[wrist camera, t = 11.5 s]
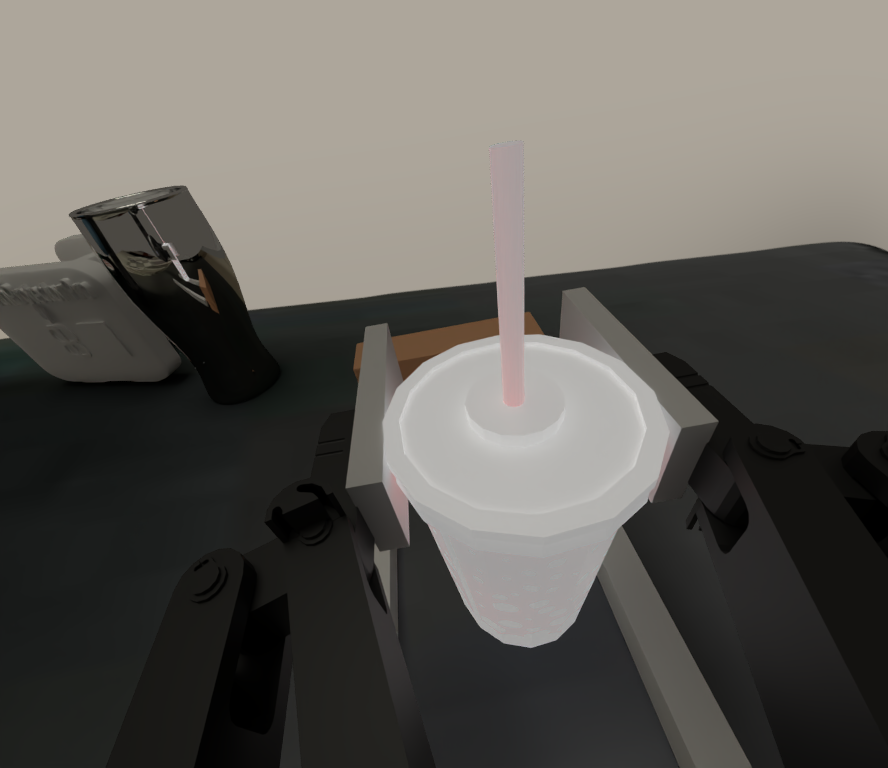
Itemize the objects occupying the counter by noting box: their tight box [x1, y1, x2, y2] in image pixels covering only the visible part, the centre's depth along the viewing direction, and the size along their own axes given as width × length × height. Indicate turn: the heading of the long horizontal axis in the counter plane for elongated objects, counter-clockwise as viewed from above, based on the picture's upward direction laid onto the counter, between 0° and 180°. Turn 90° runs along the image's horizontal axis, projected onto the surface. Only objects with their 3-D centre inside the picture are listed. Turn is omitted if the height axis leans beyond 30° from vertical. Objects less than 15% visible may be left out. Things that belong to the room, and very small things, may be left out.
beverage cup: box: [382, 141, 670, 648], centre depth 9 cm, size 6×6×14 cm
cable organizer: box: [0, 234, 181, 382], centre depth 35 cm, size 15×11×12 cm
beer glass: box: [69, 186, 280, 404], centre depth 27 cm, size 7×7×15 cm
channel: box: [353, 312, 752, 768], centre depth 14 cm, size 30×12×5 cm, turn 7°
